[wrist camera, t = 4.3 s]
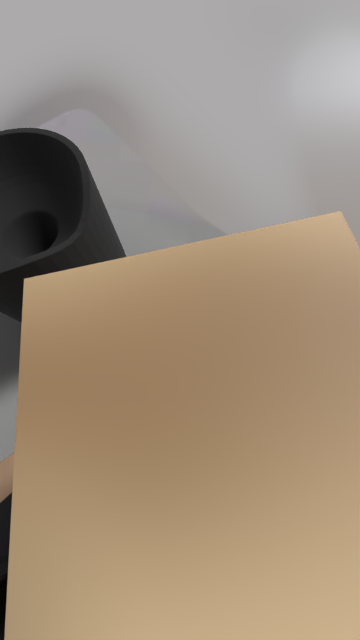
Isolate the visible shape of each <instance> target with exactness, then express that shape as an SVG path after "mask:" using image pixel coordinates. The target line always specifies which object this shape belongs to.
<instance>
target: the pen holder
mask: <svg viewBox="0 0 360 640" xmlns="http://www.w3.org/2000/svg"><path fill="white" fill-rule="evenodd" d="M124 257H126V255H125V253H124V250H123V247H122V245H121V243H120V240H119V238H118V236H117V233H116V231H115V229H114V226H113V224H112V222H111V219H110V217H109V215H108V212H107V210H106V208H105V205H104V203H103V200H102V198H101V196H100V193H99V191H98V189H97V186H96V184H95V182H94V179H93V177H92V175H91V172H90V170H89V168H88V165H87V163H86V161H85V159H84V156H83V154H82V153H81V151H80V150H79V148H78V147H77V146H76V145H75V144H74V143H73V142H72V141H70V140H69V139H67V138H66V137H64V136H62V135H60V134H58V133H55V132H52V131H49V130H44V129H38V128H18V129H10V130H4V131H0V312H2V313H4V314H6V315H8V316H10V317H12V318H14V319H16V320H18V321H20V322H22V307H23V289H24V279H26V278H30V277H35V276H40V275H44V274H49V273H54V272H58V271H63V270H68V269H72V268H77V267H82V266H86V265H91V264H96V263H100V262H105V261H110V260H115V259H119V258H124Z"/></svg>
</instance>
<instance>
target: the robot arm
mask: <svg viewBox="0 0 360 640" xmlns="http://www.w3.org/2000/svg"><path fill="white" fill-rule="evenodd" d="M11 508H12V492H11V493H10V494H9V495H8V496H7V497H6V498H5V499H4V500H3V501H2V502H0V640H4V636H5V617H6V599H7V581H8V563H9V544H10V526H11Z"/></svg>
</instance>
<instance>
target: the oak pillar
mask: <svg viewBox="0 0 360 640" xmlns="http://www.w3.org/2000/svg"><path fill="white" fill-rule="evenodd" d="M4 640H360V247H359V245H358V244H357V242H356V240H355V238H354V236H353V234H352V232H351V230H350V228H349V226H348V224H347V223H346V221H345V219H344V217H343V215H342V213H341V211H339V212H334V213H329V214H325V215H320V216H315V217H311V218H306V219H302V220H297V221H292V222H287V223H283V224H278V225H274V226H269V227H264V228H260V229H255V230H250V231H245V232H241V233H236V234H231V235H227V236H222V237H217V238H213V239H208V240H203V241H199V242H194V243H189V244H185V245H180V246H175V247H171V248H166V249H161V250H157V251H152V252H147V253H143V254H138V255H133V256H129V257H124V258H119V259H115V260H110V261H105V262H100V263H96V264H91V265H86V266H82V267H77V268H72V269H68V270H63V271H58V272H54V273H49V274H44V275H40V276H35V277H30V278H26V279H24V289H23V307H22V325H21V344H20V362H19V380H18V398H17V417H16V435H15V453H14V471H13V490H12V508H11V526H10V544H9V563H8V581H7V599H6V617H5V636H4Z"/></svg>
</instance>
